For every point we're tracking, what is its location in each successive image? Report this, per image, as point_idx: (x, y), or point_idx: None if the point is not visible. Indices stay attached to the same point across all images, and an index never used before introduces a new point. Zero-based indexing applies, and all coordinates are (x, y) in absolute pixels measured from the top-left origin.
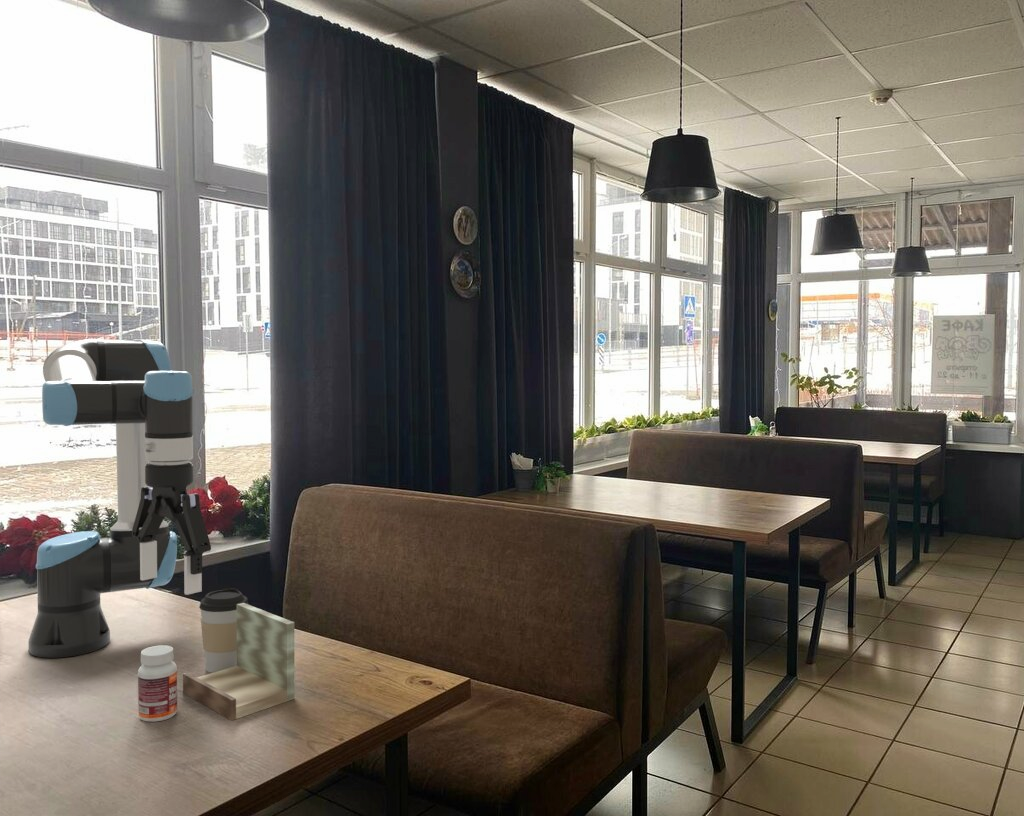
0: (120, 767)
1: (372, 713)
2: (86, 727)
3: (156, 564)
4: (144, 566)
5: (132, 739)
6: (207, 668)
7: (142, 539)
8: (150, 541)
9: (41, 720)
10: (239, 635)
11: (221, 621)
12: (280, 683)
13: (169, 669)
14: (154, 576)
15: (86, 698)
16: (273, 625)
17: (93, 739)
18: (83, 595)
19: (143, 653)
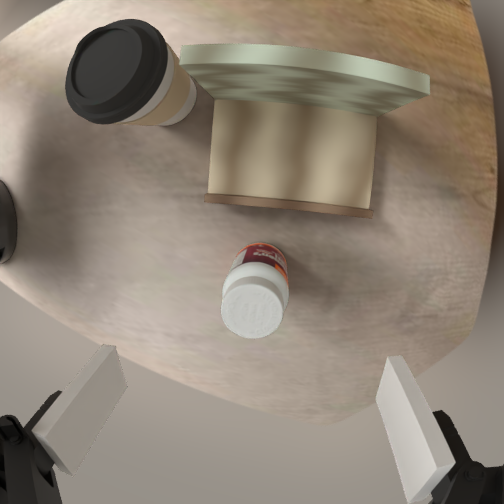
0: (350, 358)
1: (473, 94)
2: (223, 337)
3: (93, 374)
4: (106, 410)
5: (301, 323)
6: (161, 125)
7: (53, 475)
8: (45, 447)
9: (166, 352)
10: (212, 85)
11: (159, 98)
12: (360, 112)
13: (286, 293)
14: (115, 356)
15: (136, 293)
16: (367, 83)
17: (263, 347)
18: None
19: (247, 335)
